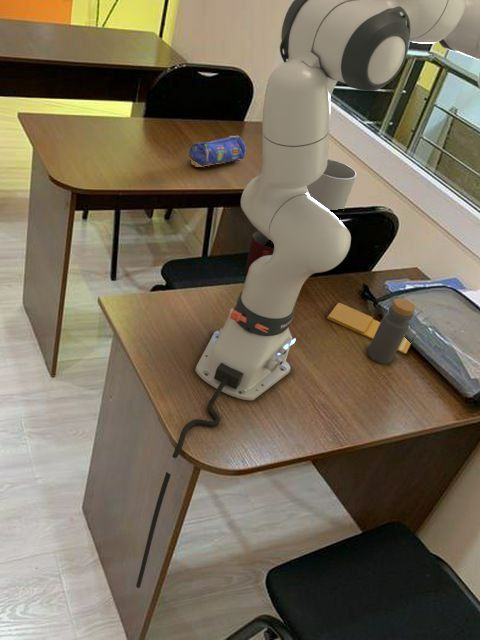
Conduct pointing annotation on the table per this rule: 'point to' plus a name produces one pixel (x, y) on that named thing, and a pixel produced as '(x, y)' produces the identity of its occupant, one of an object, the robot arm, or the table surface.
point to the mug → (258, 248)
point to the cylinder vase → (333, 185)
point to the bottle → (391, 331)
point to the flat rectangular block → (360, 323)
